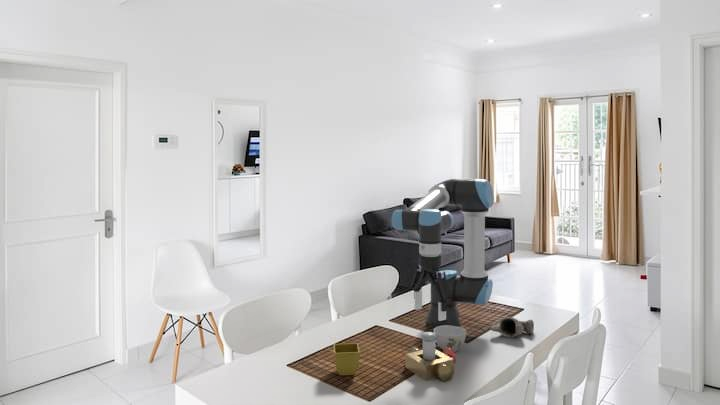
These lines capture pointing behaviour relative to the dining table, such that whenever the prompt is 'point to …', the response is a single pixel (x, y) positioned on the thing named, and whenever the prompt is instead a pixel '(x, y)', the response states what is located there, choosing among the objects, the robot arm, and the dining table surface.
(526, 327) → the grey hollow piece
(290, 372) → the dining table surface
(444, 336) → the teacup
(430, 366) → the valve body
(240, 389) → the dining table surface
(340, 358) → the flower pot
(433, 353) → the white capped shaker
